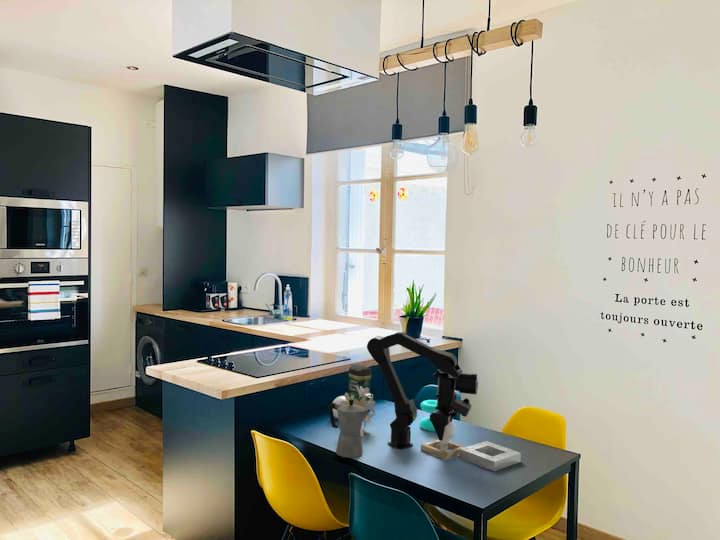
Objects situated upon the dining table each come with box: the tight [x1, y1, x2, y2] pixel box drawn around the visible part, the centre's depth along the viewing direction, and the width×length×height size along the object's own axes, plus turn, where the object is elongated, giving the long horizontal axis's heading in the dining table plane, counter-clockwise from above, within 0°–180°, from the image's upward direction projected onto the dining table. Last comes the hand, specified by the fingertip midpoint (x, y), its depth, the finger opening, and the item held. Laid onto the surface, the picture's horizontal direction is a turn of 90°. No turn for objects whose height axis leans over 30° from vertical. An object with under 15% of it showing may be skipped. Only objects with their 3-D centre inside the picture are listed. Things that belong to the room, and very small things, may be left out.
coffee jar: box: [347, 364, 372, 405], centre depth 248 cm, size 10×8×19 cm
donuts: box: [419, 399, 439, 432], centre depth 226 cm, size 10×10×10 cm
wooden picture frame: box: [420, 439, 466, 461], centre depth 201 cm, size 11×11×2 cm
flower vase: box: [332, 385, 377, 437], centre depth 225 cm, size 13×18×25 cm
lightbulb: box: [438, 421, 455, 451], centre depth 200 cm, size 6×6×11 cm
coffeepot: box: [327, 399, 370, 459], centre depth 196 cm, size 15×9×18 cm, turn 62°
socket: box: [459, 440, 522, 472], centre depth 194 cm, size 14×14×3 cm
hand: (444, 436), depth 200 cm, fingers open, 9 cm apart
